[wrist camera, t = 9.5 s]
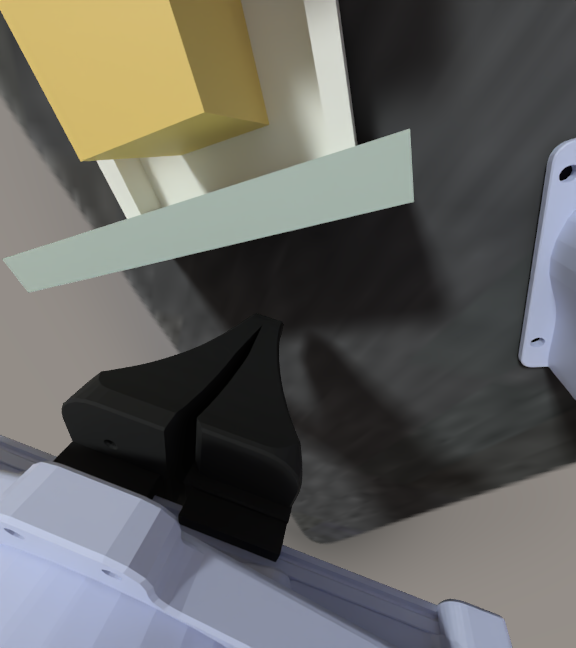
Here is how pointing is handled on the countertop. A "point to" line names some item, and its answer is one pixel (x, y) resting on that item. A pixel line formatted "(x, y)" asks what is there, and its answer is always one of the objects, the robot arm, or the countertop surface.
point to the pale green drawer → (246, 163)
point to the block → (142, 72)
